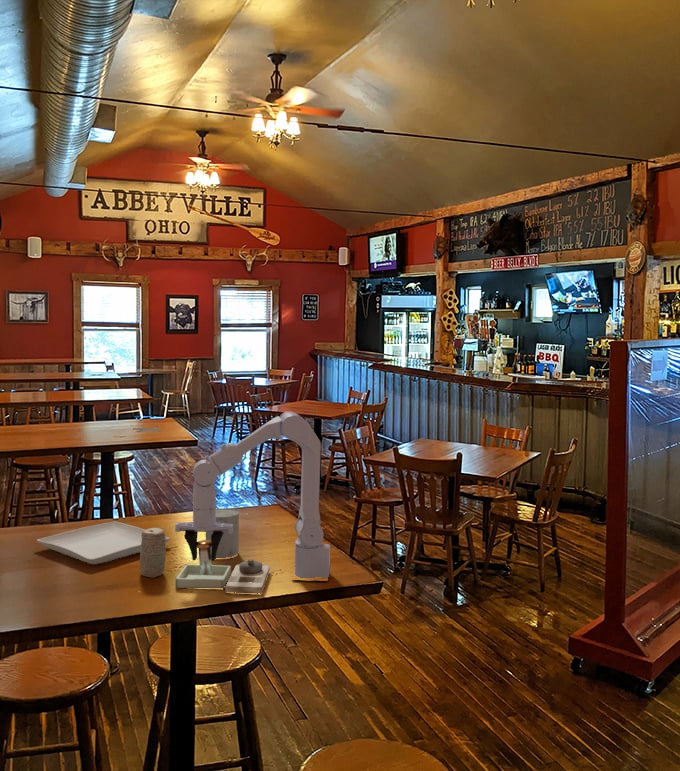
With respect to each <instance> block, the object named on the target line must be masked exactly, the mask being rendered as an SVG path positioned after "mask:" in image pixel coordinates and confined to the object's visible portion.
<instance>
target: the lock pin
mask: <svg viewBox="0 0 680 771" xmlns="http://www.w3.org/2000/svg"><path fill="white" fill-rule="evenodd" d="M195 545H196V548H197V549H198V560H199V565H200V574H201V575H208V574H211V573H212V565H213V564H212V561H211V549H210V547H211V546H212V543H211V540H206V539H203V540H202V539H201V540H199V541H198V540H197V542H196V543H195Z"/></svg>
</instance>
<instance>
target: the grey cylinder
mask: <svg viewBox="0 0 680 771" xmlns="http://www.w3.org/2000/svg"><path fill="white" fill-rule="evenodd" d="M216 522H218V523H225V524H233V532H232V534H231V533H224V534H223V536H222V538H221V540H220V543H219V545H218V549H217V553H216V558H226V557H232V556H234V555H236V554H238V552H239V549H240V548H239V547H240V546H239V545H240V544H239V543H240V542H239V537H240V536H239V532H240V531H239V530H240V525H239V524H240V511H239V510H237V509H234V508H223V507H221V508H216ZM212 534H213V532H205V540H211V535H212ZM210 549H211V554H212V546H211V547H210Z"/></svg>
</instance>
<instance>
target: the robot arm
mask: <svg viewBox="0 0 680 771" xmlns="http://www.w3.org/2000/svg"><path fill="white" fill-rule="evenodd" d="M282 435H283V436H284V437H285V438H286V439H288V440H290V441H292V442H294V443H296V444H297V445H298V446H299V447H300V448H301V473H300V474H301V476H300V477H301V480H300V481H301V482H300V506H299V510H298V518H297V519H296V522H295V523H294V524H295V525H294V528H295V532H296V534H297V535H298V537H297V539H295V541H294V543H295V544H294V547H295V548H294V555H295V556H294V570H295V575H296V576H298V577H300V578H315V577H322V578H327V577H329V578H330V573H331V570H332V569H331V568H332V566H331V565H330V562H331V561H330V560H331V559H330V558H331V544H327V543H324V542H323V540H324V530H323V528H322V525H321V515H320V514H321V513H320V480H321V479H320V477H321V475H320V474H321V448H322V447H321V446H322V444H321V440H320V439H319V437H318V436H317V434H316V432H315V431H314V430H313V428H312V426H311V425H310V423H309V422H308V421H307V420H306V419H304V417H303V416H302V415H300V414H298V413H297V412H295V411H291V410H289V411H287V410H286V411H285V412H283V413H281V415H280V416H279V415H277V416H275V417H273V418H272V419H271V420H269V421H267V422H266V423H264V424H262V425H261V426H260V427H259V428H257V429H256V430H254V431H253V432H251V433H250V434H248V435H247V436H246V437H244V438H243V439H242V440H240V441H239V442H238V443H232V442H229V443H227V444H225V443H223V444H221V445H219V446H220V448H219V449H218V450H216V451H215V452H213V453H212V454H210V455H208V454H207V455H205V456H204V459H201V460H198V461H197V462H196V463H195V464H194V466H193V469H192V475H193V476H192V477H193V480H194V481H193V490H192V521H187V522H186V521H185V522H176V524H175V525H174V530H175V533H180V532H184V536H183V538H184V540H185V541H186V543H187V545H188V547H189V550H190V554H191V558H192V561H196V560H197V558H198V548H196V545H195V543H196V542H198V534H199V533H206V532H213V534H212V535H211V543H212V554H211V562H214V561H215V559H216V553H217V549H218V545H219V543H220V540H221V538H222V536H223V534H224V533H231V534H232V532H233V524H225V523H218V522H216V509H217V506H216V505H217V504H216V503H217V501H216V500H217V498H216V496H217V490H216V487H215V486H216V484H215V483H216V480H217V477H218V476H222V475H223V474H225V473H226V472H227V471H229V470H231V469H233V468H234V467H235V466H237V465H239V464H240V463H241V462H242V461H243V456H244V455H245V454H246V453H248V452H251V450H254V449H255V448H257V447H258V446H260V445H262V444H264V443H265V442H266V441H268V440H270V439H271V440H272V439H273V440H274V439H275V440H281V439H283V437H282ZM329 572H330V573H329Z"/></svg>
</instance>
